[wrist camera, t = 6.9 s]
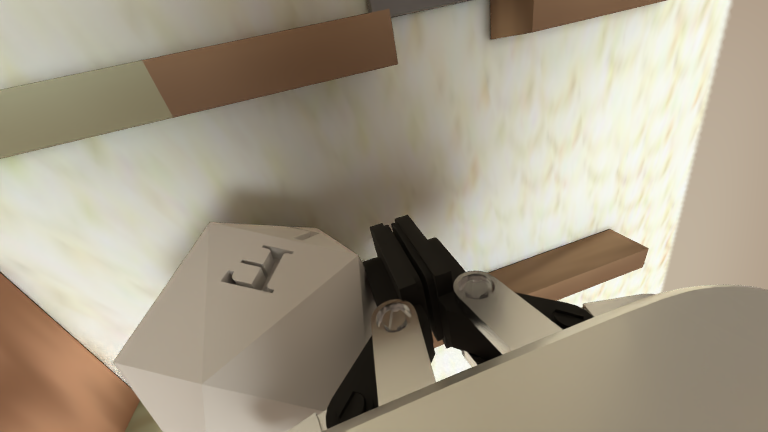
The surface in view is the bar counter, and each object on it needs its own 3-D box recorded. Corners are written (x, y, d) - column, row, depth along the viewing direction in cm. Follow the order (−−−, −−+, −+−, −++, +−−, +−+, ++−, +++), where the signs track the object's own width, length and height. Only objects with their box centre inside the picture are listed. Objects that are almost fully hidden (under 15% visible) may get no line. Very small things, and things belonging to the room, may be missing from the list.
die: (396, 248, 16) (421, 234, 7) (362, 407, 15) (335, 662, 6) (258, 217, 16) (94, 162, 7) (213, 373, 15) (-63, 564, 6)
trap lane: (-610, -162, 5) (-2259, -588, 2) (724, -271, 10) (961, -463, 6) (186, 467, 19) (161, 555, 15) (592, 305, 23) (644, 345, 20)
